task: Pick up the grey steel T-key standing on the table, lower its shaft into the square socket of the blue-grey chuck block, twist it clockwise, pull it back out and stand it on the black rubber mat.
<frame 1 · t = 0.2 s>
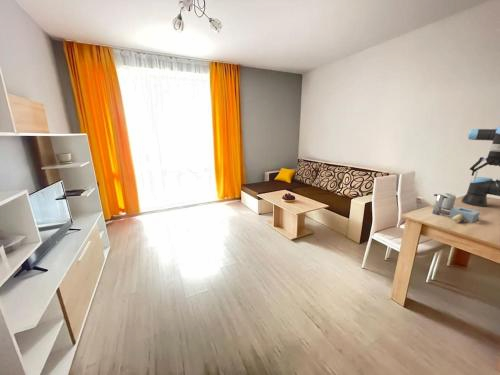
hand: (487, 183, 135), 28 cm above the table, fingers open, 13 cm apart
mat: (442, 211, 158), on the table
chuck block: (462, 217, 148), on the table
can: (445, 208, 166), on the table
key: (435, 213, 155), on the table
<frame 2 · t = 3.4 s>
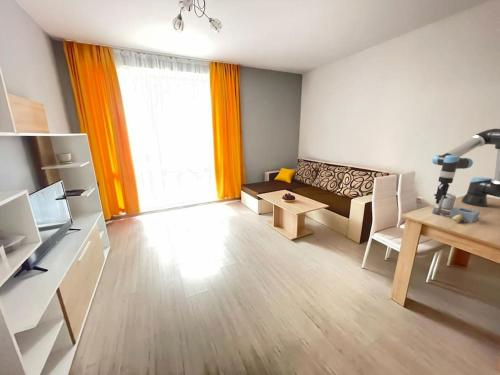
hand: (437, 206, 153), 6 cm above the table, fingers closed on key, 4 cm apart
key: (435, 213, 155), on the table, touching gripper
everything else where it was.
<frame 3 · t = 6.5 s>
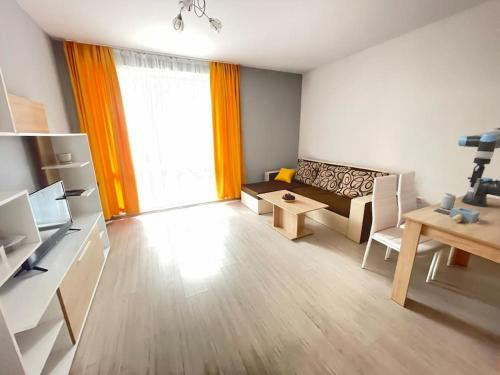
hand: (471, 191, 142), 21 cm above the table, fingers closed on key, 4 cm apart
key: (469, 198, 143), point 15 cm above the table, touching gripper
everything else where it was.
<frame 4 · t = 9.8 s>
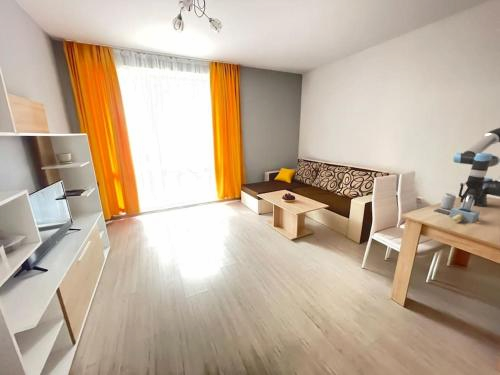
hand: (466, 207, 145), 8 cm above the table, fingers closed on key, 4 cm apart
key: (463, 214, 147), point 2 cm above the table, touching gripper
everything else where it was.
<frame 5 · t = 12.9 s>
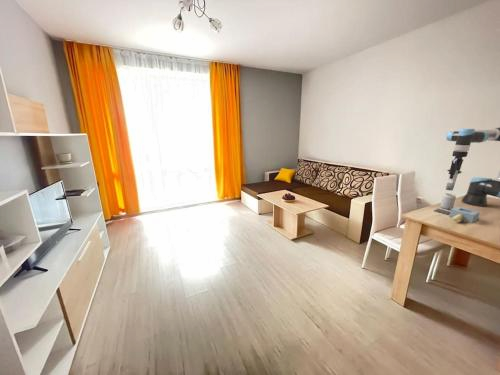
hand: (451, 182, 151), 24 cm above the table, fingers closed on key, 4 cm apart
key: (449, 189, 153), point 18 cm above the table, touching gripper
everything else where it was.
when the fingers open (7 cm above the table, at t = 16.1 s): key stays where it is, resting on mat.
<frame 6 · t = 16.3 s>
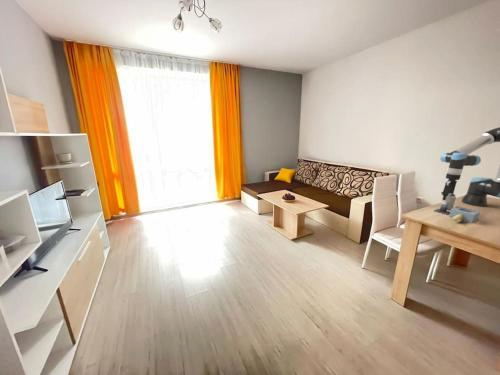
hand: (445, 202, 156), 8 cm above the table, fingers open, 7 cm apart
key: (442, 211, 158), point 1 cm above the table, touching mat
everything else where it was.
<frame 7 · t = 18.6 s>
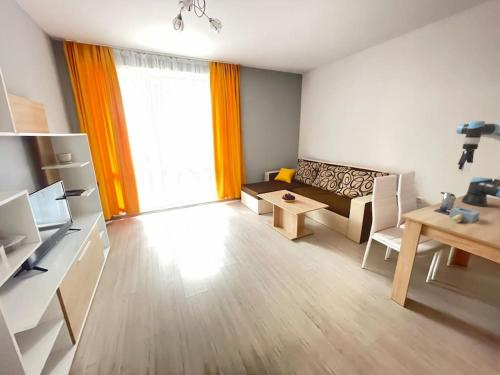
hand: (462, 172, 152), 31 cm above the table, fingers open, 13 cm apart
nothing on the table moved.
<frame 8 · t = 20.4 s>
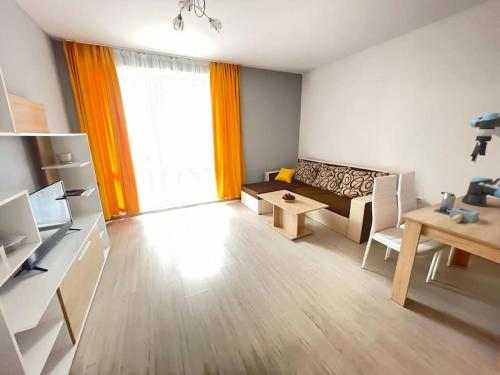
hand: (475, 164, 153), 37 cm above the table, fingers open, 13 cm apart
nothing on the table moved.
at the end: key inside the target area on the mat (0.0 cm from its centre), point 0.6 cm above the mat's base; key tilted 0°; the gripper is holding nothing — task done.
